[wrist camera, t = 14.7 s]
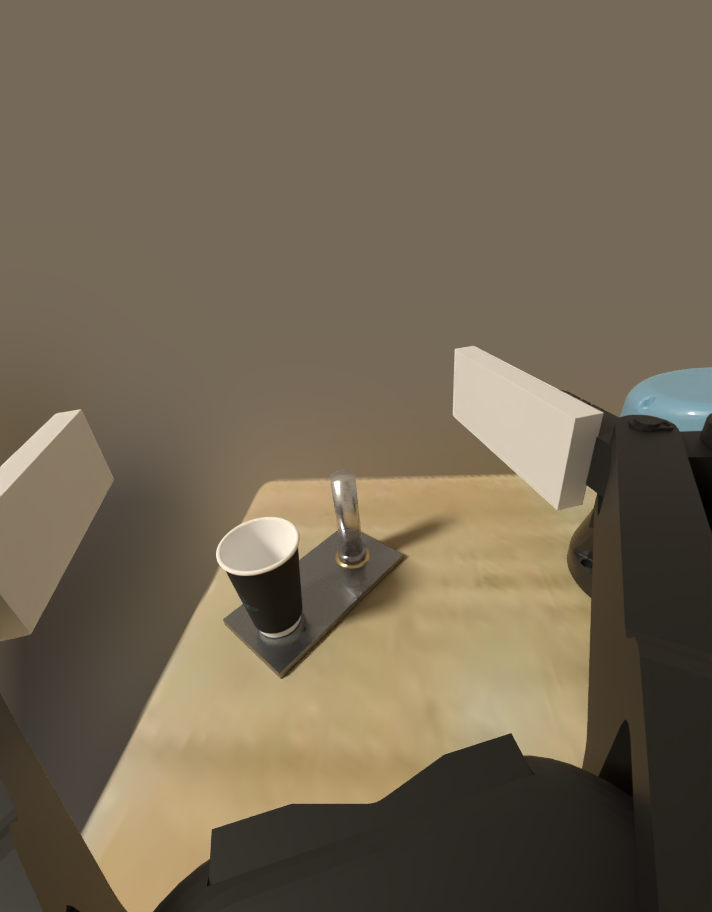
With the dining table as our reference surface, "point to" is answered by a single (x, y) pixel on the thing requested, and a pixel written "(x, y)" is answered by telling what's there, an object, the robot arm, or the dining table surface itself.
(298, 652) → the plate
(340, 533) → the post
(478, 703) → the dining table surface
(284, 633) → the dixie cup
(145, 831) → the dining table surface
